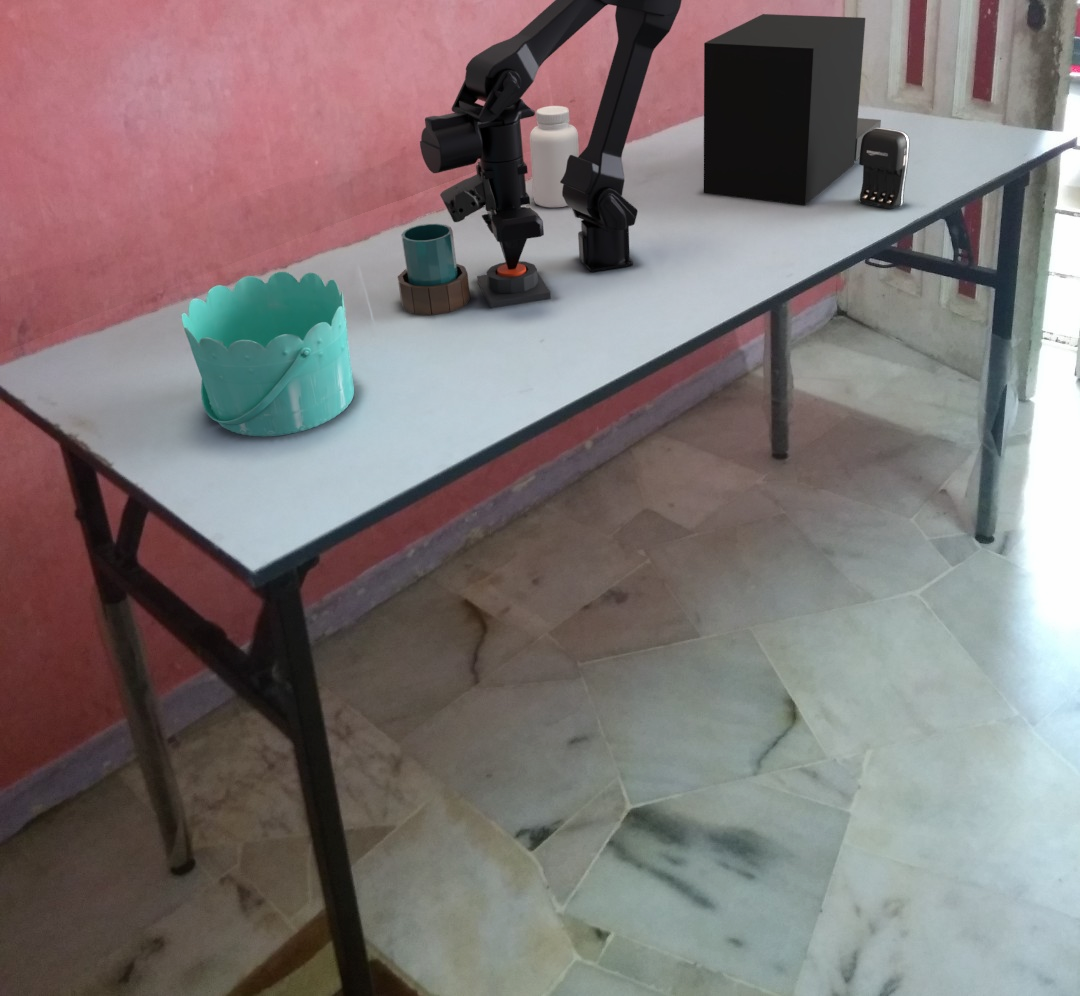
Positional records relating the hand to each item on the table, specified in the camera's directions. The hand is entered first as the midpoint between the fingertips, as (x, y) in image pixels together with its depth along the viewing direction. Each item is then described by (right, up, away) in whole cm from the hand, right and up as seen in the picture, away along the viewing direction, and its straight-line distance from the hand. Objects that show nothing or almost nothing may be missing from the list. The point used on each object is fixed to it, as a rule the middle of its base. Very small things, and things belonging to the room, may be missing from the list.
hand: (511, 268), depth 159 cm
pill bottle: (+7, +18, +33) cm, 38 cm away
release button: (0, -2, +1) cm, 2 cm away
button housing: (0, -3, +2) cm, 3 cm away
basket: (-27, -21, -22) cm, 40 cm away
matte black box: (+48, +25, +39) cm, 66 cm away
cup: (-11, -5, +1) cm, 11 cm away
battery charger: (+57, +14, +20) cm, 62 cm away
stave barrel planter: (-11, -5, +1) cm, 12 cm away
